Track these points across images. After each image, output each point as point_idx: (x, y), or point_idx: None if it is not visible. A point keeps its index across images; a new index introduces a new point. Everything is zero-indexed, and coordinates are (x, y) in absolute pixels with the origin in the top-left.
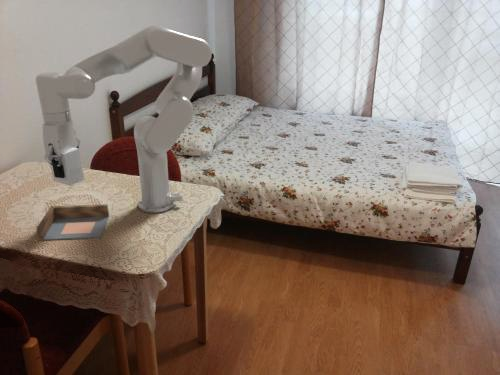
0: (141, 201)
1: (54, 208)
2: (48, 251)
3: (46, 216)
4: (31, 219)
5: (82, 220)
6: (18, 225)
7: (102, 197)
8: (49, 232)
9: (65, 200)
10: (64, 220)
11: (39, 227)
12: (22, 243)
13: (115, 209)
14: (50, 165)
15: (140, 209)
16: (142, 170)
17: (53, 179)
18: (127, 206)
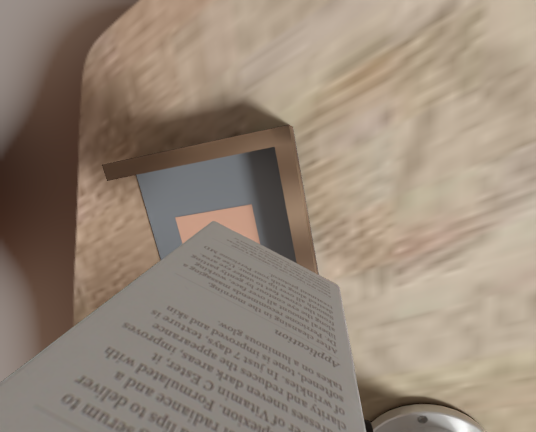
0: (431, 422)
1: (275, 149)
2: (88, 220)
3: (192, 156)
4: (273, 34)
5: (278, 252)
6: (218, 7)
7: (503, 253)
8: (179, 173)
9: (475, 93)
10: (270, 186)
11: (106, 174)
12: (107, 110)
13: (383, 333)
14: (138, 278)
15: (379, 416)
16: None
17: (208, 224)
18: (410, 367)
